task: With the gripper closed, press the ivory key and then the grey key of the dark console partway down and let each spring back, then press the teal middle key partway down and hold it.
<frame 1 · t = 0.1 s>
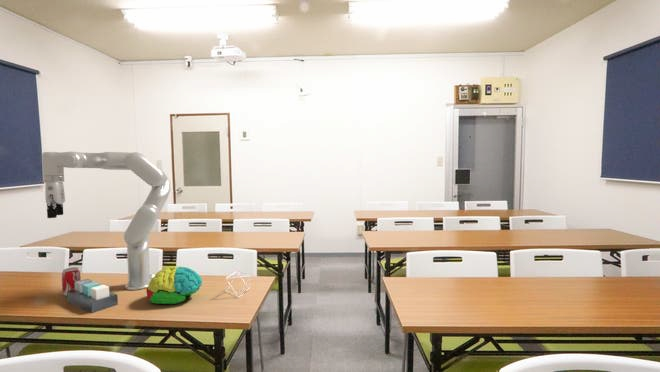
hand: (55, 216, 158), 37 cm above the table, tool pointing down, fingers open, 9 cm apart
console: (92, 303, 152), on the table
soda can: (71, 294, 162), on the table
grey key: (83, 286, 155), point 6 cm above the table, slide at 0.0 cm
ivory key: (100, 293, 147), point 6 cm above the table, slide at 0.0 cm
geometric polyhedron: (238, 293, 163), on the table
teal key: (91, 289, 151), point 6 cm above the table, slide at 0.0 cm
brain model: (175, 299, 156), on the table
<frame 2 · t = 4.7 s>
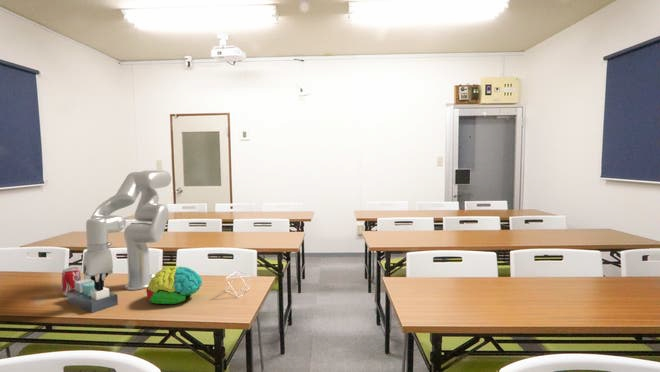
hand: (99, 289, 147), 8 cm above the table, tool pointing down, fingers closed
ivory key: (100, 295, 147), point 5 cm above the table, slide at 1.0 cm, touching gripper
everything else where it was.
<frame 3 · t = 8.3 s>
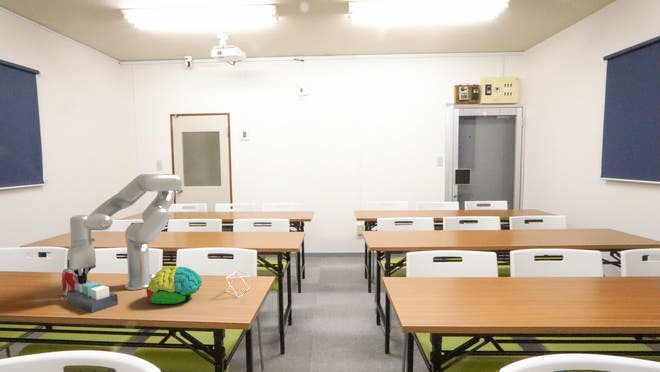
hand: (82, 283, 155), 8 cm above the table, tool pointing down, fingers closed
grey key: (83, 288, 155), point 5 cm above the table, slide at 0.9 cm, touching gripper
ivory key: (100, 293, 147), point 6 cm above the table, slide at 0.4 cm
everything else where it was.
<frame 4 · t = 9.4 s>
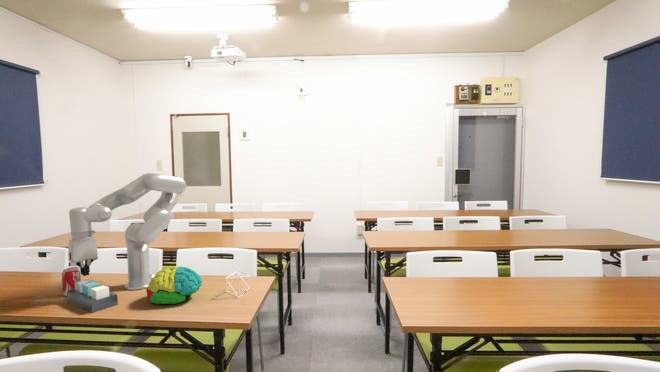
hand: (85, 275, 156), 11 cm above the table, tool pointing down, fingers closed
grey key: (83, 286, 155), point 6 cm above the table, slide at 0.2 cm
everything else where it was.
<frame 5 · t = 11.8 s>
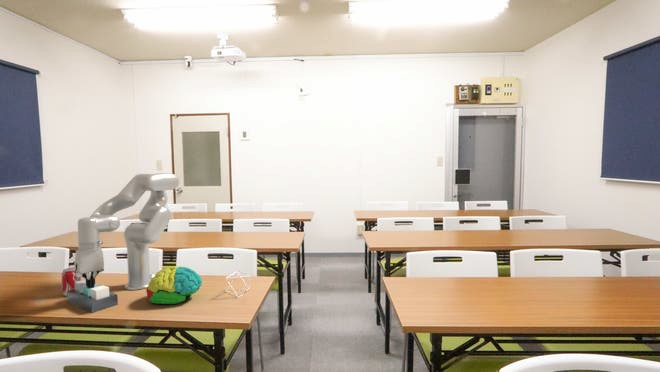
hand: (90, 287, 151), 7 cm above the table, tool pointing down, fingers closed
teal key: (91, 292, 151), point 5 cm above the table, slide at 1.3 cm, touching gripper
everything else where it was.
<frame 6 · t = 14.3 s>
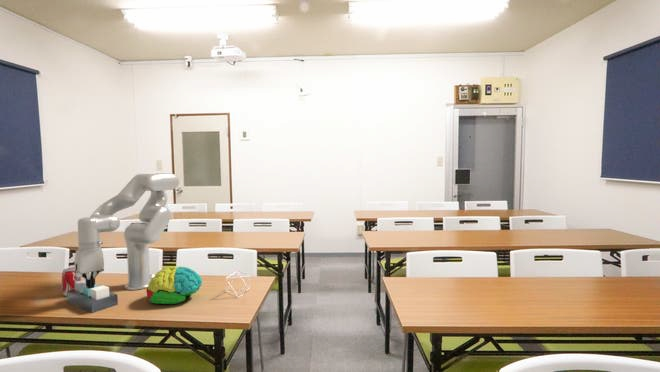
hand: (90, 287, 151), 7 cm above the table, tool pointing down, fingers closed
nothing on the table moved.
at the end: teal key slide at 1.3 cm; ivory key slide at 0.4 cm; grey key slide at 0.2 cm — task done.
